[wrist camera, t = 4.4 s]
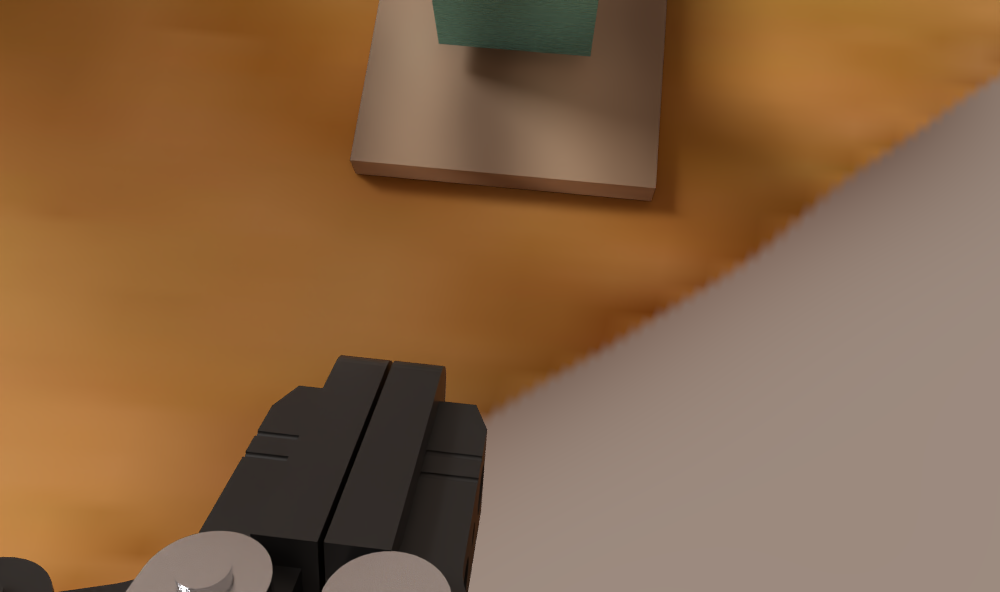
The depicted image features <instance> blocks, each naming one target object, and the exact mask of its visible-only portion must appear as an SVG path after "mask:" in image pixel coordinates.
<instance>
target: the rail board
mask: <svg viewBox="0 0 1000 592" xmlns="http://www.w3.org/2000/svg"><path fill="white" fill-rule="evenodd" d="M666 8H667V0H599V1H598V8H597V15H596V22H595V28H594V35H593V42H592V49H591V56H578V55H566V54H554V53H542V52H530V51H518V50H506V49H494V48H482V47H470V46H458V45H446V44H439V42H438V36H437V30H436V23H435V17H434V10H433V4H432V0H379V5H378V11H377V16H376V22H375V27H374V33H373V38H372V44H371V49H370V54H369V60H368V65H367V71H366V76H365V82H364V87H363V93H362V98H361V104H360V109H359V114H358V120H357V125H356V131H355V136H354V142H353V147H352V153H351V158H350V161H351V163H352V166H353V168H354V170H355V173H356V174H365V175H376V176H387V177H398V178H408V179H419V180H430V181H441V182H452V183H462V184H473V185H484V186H495V187H506V188H516V189H527V190H538V191H549V192H560V193H570V194H581V195H592V196H603V197H614V198H624V199H635V200H646V201H651V199H652V197H653V194H654V192H655V189H656V176H657V159H658V142H659V125H660V109H661V92H662V75H663V58H664V42H665V25H666Z"/></svg>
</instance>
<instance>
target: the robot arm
mask: <svg viewBox="0 0 1000 592" xmlns="http://www.w3.org/2000/svg"><path fill="white" fill-rule="evenodd" d="M445 389H446V368H445V366H437V365H428V364H419V363H410V362H401V361H394V362H393V363H392V361H390V360H380V359H371V358H362V357H353V356H344V355H341V356H340V357H339V358H338V359H337V361H336V363H335V365H334V367H333V369H332V371H331V373H330V375H329V377H328V379H327V381H326V383H325V385H324V387H323V388H315V387H306V386H298V387H297V388H295V389H294V390H293V391H291V392H290V393H289V394H287V395H286V396H285V397H283V398H282V399H281V400H279V401H278V402H276V403H275V404H274V405H272V407H271V409H270V410H269V412H268V414H267V416H266V417H265V419H264V421H263V422H262V424H261V426H260V428H259V429H258V434H257V436H254V438H253V440H252V442H251V443H250V445H249V447H248V448H247V450H246V455H245V457H242V459H241V461H240V462H239V464H238V466H237V468H236V469H235V471H234V473H233V474H232V476H231V478H230V480H229V481H228V483H227V485H226V487H225V488H224V490H223V492H222V494H221V495H220V497H219V499H218V500H217V502H216V504H215V506H214V507H213V509H212V511H211V513H210V514H209V516H208V518H207V520H206V521H205V523H204V525H203V526H202V528H201V530H200V532H199V533H198V534H194V535H190V536H188V537H185V538H182V539H180V540H178V541H176V542H174V543H172V544H170V545H168V546H167V547H165V548H164V549H162V550H161V551H159V552H158V553H157V554H156V555H155V556H153V557H152V558H151V559H150V560H149V561H148V563H147V564H146V565H145V566H144V567H143V569H142V570H141V571H140V573H139V574H138V575H137V577H136V578H135V579H134V580H130V581H127V582H122V583H117V584H111V585H104V586H97V587H90V588H83V589H76V590H69V591H61V592H468V588H469V582H470V575H471V569H472V563H473V557H474V550H475V544H476V538H477V532H478V526H479V520H480V513H481V503H482V502H481V501H482V489H483V476H484V462H485V450H486V437H487V436H486V435H487V428H486V426H485V424H484V422H483V419H482V417H481V415H480V413H479V410H478V408H477V406H476V405H470V404H461V403H452V402H445ZM0 592H54V589H53V586H52V582H51V579H50V577H49V575H48V573H47V572H46V571H45V570H44V569H43V568H42V567H41V566H39V565H38V564H36V563H34V562H31V561H29V560H26V559H21V558H15V557H0Z"/></svg>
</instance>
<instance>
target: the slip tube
mask: <svg viewBox="0 0 1000 592" xmlns="http://www.w3.org/2000/svg"><path fill="white" fill-rule="evenodd" d="M598 1H599V0H432V4H433V10H434V17H435V23H436V30H437V36H438V42H439V44H446V45H458V46H470V47H482V48H494V49H506V50H518V51H530V52H542V53H554V54H566V55H578V56H591V49H592V42H593V35H594V28H595V22H596V15H597V8H598Z"/></svg>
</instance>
